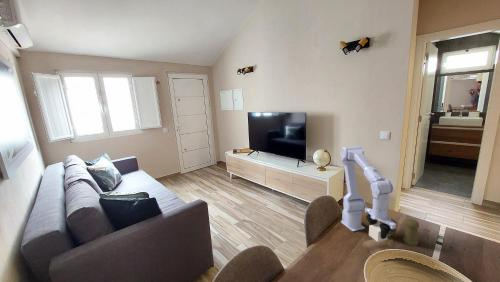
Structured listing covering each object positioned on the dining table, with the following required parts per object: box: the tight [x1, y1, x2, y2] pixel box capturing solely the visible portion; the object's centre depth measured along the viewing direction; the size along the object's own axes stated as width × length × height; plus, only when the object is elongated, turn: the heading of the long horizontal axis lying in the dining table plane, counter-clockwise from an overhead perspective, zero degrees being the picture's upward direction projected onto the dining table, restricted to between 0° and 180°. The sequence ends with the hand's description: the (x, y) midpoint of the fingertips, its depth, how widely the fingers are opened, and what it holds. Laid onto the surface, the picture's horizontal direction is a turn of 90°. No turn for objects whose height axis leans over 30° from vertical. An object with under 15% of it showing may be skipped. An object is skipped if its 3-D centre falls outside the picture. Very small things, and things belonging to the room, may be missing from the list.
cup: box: [379, 218, 399, 238], centre depth 106 cm, size 8×7×8 cm
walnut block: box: [362, 238, 394, 255], centre depth 96 cm, size 9×9×3 cm
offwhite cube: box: [368, 222, 388, 242], centre depth 95 cm, size 5×5×5 cm
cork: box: [402, 218, 420, 247], centre depth 100 cm, size 6×6×11 cm
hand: (378, 234), depth 95 cm, fingers closed on offwhite cube, 5 cm apart
